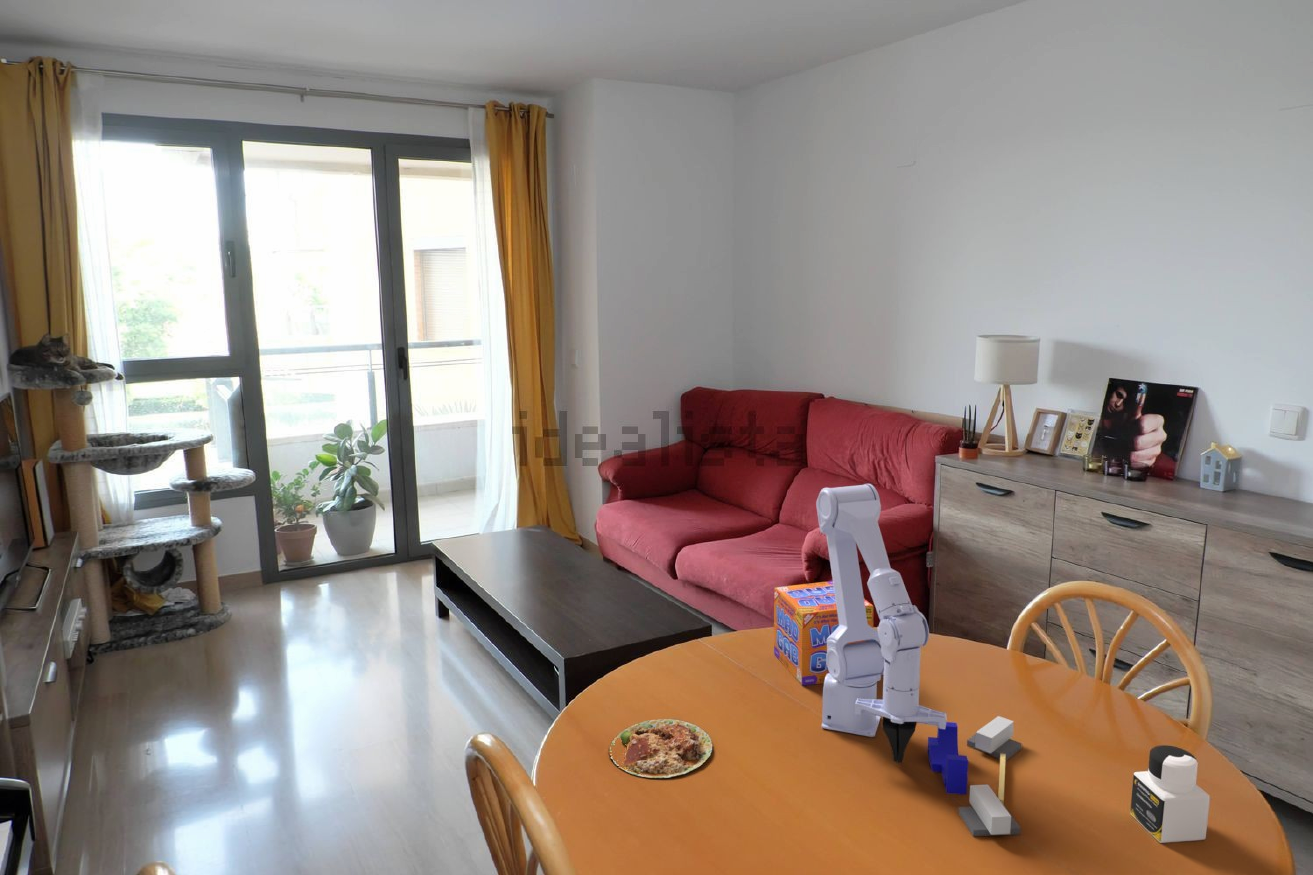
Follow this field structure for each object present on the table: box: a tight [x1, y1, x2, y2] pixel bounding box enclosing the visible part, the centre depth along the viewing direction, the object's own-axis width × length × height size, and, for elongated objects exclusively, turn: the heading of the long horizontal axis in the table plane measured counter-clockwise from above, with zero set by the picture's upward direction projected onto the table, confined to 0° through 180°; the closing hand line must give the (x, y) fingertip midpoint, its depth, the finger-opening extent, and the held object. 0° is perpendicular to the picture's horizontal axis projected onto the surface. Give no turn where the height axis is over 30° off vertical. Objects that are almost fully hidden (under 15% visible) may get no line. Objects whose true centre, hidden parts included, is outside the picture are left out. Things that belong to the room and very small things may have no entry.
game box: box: [773, 580, 875, 687], centre depth 182 cm, size 16×16×16 cm
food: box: [608, 718, 713, 779], centre depth 152 cm, size 18×18×3 cm
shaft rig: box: [958, 715, 1022, 837], centre depth 140 cm, size 9×31×4 cm, turn 157°
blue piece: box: [927, 721, 969, 795], centre depth 143 cm, size 12×4×6 cm, turn 170°
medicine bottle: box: [1129, 744, 1211, 844], centre depth 128 cm, size 7×7×12 cm
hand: (898, 758), depth 146 cm, fingers closed
